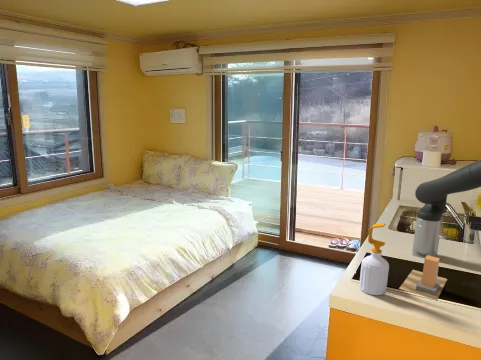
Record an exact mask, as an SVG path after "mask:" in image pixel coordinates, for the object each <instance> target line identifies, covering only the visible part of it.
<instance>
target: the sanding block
mask: <svg viewBox="0 0 481 360" xmlns="http://www.w3.org/2000/svg"><path fill="white" fill-rule="evenodd" d="M440 259H441V258H440V257H433V256H429V255H427V256H426V258H425V259H424V261H423V269H422V272H423V275H422V278H421V280H420V281H419V283H418V284H417V285H416V290H418V291H421V292H425V293H428V294H431V295H434V296H435V294H436V292H437V291H438V289H439V287H440V283H441V282H439V281H437V276H438V273H439V266H440Z"/></svg>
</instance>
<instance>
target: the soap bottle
mask: <svg viewBox="0 0 481 360" xmlns="http://www.w3.org/2000/svg"><path fill="white" fill-rule="evenodd" d="M385 226H386V223H385V222H380V223H374V224H373V225H371V226H370V228H369V230H368V238H367V242H368V243H369V244H370V245H373V247H374V248H372V249H371V252H370V255H367V256H366V257H363V258H362V260H361V266H360V276H359V286H358V287H359V290H361V291H362V292H364V293H365V294H368V295H371V296H382V295H385V294H386V293H387V286H388V277H389V272H390V271H389V270H390V264H389V262H388V261H387V260H386V259H385V258H383V257H382V253H383V251H382V249H380V248H381V247H384V246H385V245H386V242H385V241H382V240H377V239H374V238H373V229H376V228H377V229H378V228H384V227H385Z"/></svg>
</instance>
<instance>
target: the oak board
mask: <svg viewBox="0 0 481 360" xmlns="http://www.w3.org/2000/svg"><path fill="white" fill-rule="evenodd" d="M422 275H423V271H419V270H415V269H412V270H411V272H410V273H409V274H408V275H407V277H406V278H405V280H404V282H403V283H402V284H401V285H400V287H399V288H398V289H399V290H402V291H404V292H405V291H406V292H409V293H412V294H416V295H419V296H420V297H421V296H422V297H425V298H428V299H430V300H435V301H438V299H439V297H440V295H441V293H442V291H443V290H444V286H445V285H446V283H447V281H448V278H445V277H441V276H439V275H437V281H439V282H441V283H440V287H439V289H438V291H437V292H436V294H435V296H434V295H431V294H428V293H425V292H421V291H418V290H416V285H417V284H418V283H419V281H420V280H421V278H422Z"/></svg>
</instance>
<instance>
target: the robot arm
mask: <svg viewBox="0 0 481 360" xmlns="http://www.w3.org/2000/svg"><path fill="white" fill-rule="evenodd" d="M479 188H481V159H479V160H477V161H475V162H472V163H469V164H467V165H464V166H463V167H460V168H458V169H456V170H454V171H452V172H449V173H448V174H446V175H444V176H441V177H439V178H435V179H433V180H428V181H425V182H422V183H420V184H419V185H418V186H417V187H416V189H415V192H414V195H415V198H416V200H417V201H419V203H422V204H424V205H423V206H422V207H421V208H420V209H418V210H417V212H416V213H417V215H416V221H415V229H414V235H413V236H414V237H413V244H412V251H411V253H412V256H414V257H417V258H421V259H424V260H425V258H426V256H427V255H429V256H433V257H437V256H438V252H439V243H440V235H439V233H440V227H441V221H442V216H443V215H444V214H445V209H446V204H447V199H448V195H451V194H458V193H462V192H463V193H464V192H467V191H472V190H475V189H479ZM467 222H468V223H470V224H469V229H470V230H472V231H478V232H481V216H475V215H468V217H467ZM437 258H438V257H437Z"/></svg>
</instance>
